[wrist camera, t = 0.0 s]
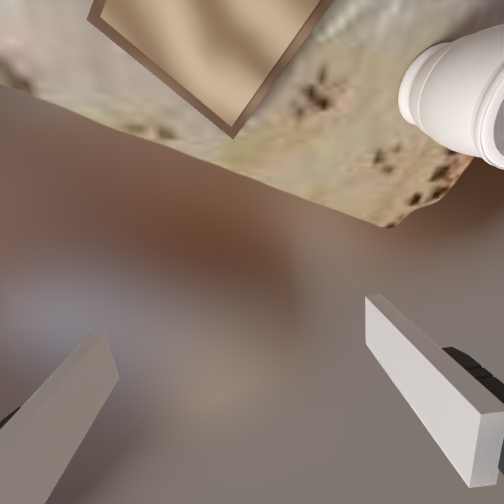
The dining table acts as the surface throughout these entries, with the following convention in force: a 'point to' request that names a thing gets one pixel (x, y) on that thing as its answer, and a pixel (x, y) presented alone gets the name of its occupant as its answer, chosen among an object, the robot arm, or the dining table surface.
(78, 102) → the dining table surface
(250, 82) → the walnut stand
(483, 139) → the jar
